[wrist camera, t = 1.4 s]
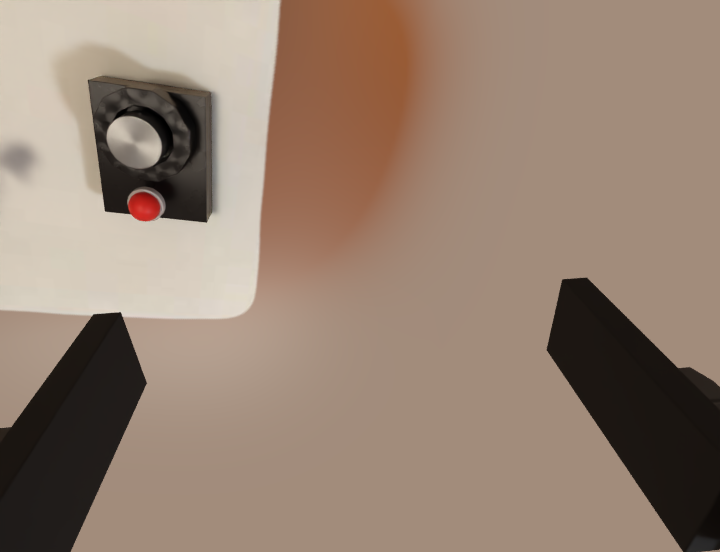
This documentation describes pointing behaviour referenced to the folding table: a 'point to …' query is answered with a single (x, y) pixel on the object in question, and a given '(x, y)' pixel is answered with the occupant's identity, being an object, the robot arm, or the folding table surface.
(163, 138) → the control knob
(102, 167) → the control box
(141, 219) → the red lamp
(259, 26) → the folding table surface
